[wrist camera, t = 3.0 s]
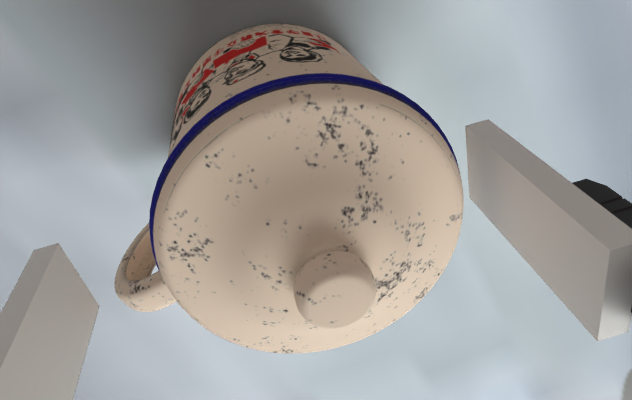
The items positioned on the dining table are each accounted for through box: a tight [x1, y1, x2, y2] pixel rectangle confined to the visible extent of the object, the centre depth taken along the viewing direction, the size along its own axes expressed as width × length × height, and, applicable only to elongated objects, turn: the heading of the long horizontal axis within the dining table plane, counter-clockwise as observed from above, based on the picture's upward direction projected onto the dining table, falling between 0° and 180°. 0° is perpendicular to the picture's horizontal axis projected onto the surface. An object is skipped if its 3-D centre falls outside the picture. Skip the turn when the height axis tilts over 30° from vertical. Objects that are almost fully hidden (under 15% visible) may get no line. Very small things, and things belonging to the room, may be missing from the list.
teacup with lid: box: [115, 24, 463, 353], centre depth 17 cm, size 12×9×12 cm
